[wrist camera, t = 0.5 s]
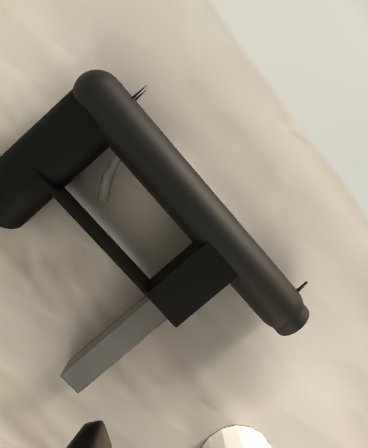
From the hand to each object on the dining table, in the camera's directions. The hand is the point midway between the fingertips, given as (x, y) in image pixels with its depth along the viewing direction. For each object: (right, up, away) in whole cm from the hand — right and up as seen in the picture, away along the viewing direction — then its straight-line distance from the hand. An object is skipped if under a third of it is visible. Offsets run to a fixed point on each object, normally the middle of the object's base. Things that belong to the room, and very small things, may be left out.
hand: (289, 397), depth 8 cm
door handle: (-6, +2, +14) cm, 16 cm away
